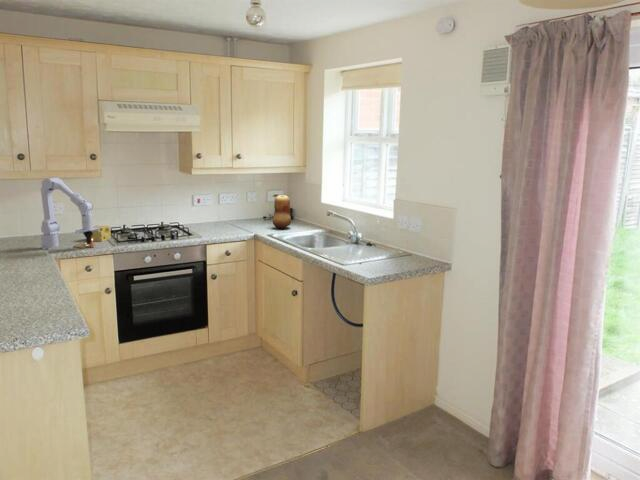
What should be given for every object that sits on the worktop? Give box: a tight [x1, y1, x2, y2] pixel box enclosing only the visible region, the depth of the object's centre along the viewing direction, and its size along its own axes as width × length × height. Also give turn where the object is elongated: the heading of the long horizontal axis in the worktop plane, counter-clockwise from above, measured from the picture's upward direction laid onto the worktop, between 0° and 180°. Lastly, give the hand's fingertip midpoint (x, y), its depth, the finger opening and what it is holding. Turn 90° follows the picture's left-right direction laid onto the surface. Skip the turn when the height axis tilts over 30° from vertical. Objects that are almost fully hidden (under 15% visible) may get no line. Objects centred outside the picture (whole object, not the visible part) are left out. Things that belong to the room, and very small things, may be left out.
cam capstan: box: [74, 238, 95, 249], centre depth 322 cm, size 14×9×6 cm, turn 65°
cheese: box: [91, 224, 112, 243], centre depth 342 cm, size 10×11×10 cm
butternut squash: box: [272, 194, 292, 229], centre depth 390 cm, size 14×13×25 cm
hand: (88, 243), depth 319 cm, fingers closed, pressing on cam capstan
